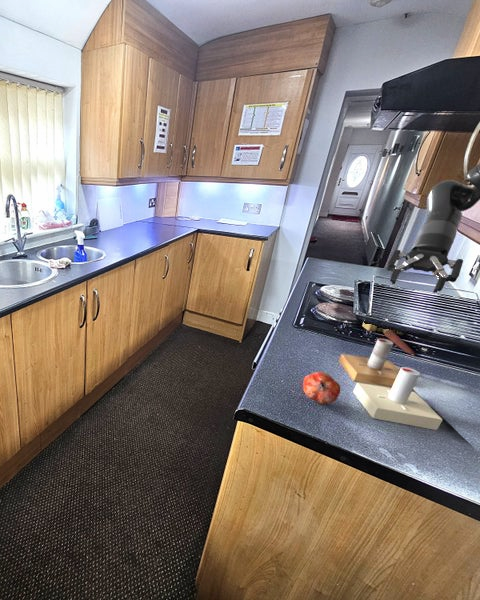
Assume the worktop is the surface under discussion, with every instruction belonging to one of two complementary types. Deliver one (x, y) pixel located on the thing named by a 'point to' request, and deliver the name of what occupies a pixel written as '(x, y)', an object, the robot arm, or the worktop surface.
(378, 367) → the rod
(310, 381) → the pomegranate
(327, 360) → the worktop surface
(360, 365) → the brown wooden block
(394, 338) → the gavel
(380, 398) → the cream base plate
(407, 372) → the rod
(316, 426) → the worktop surface
